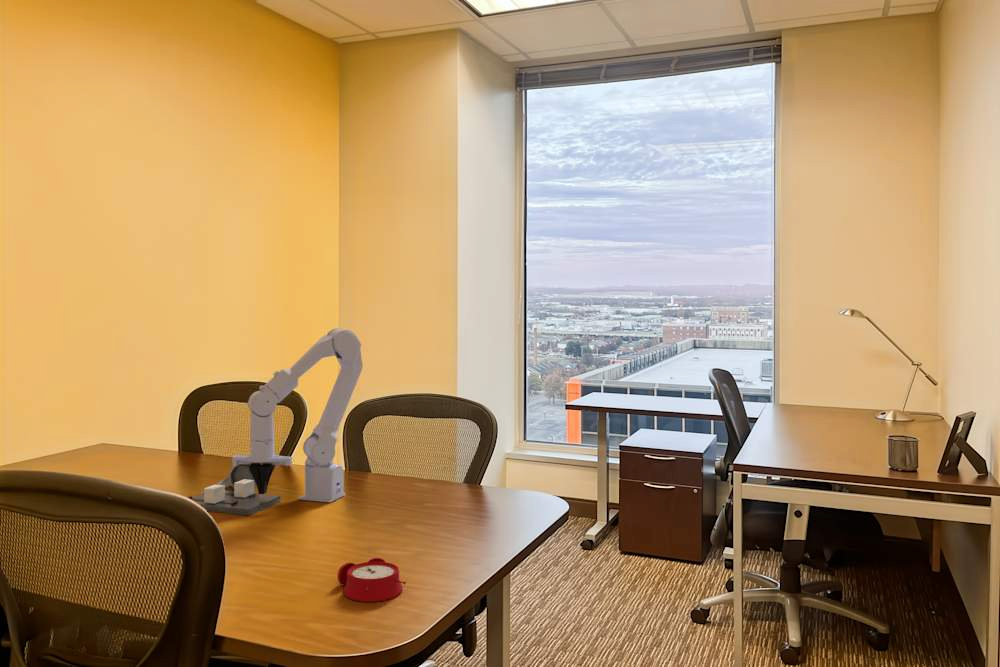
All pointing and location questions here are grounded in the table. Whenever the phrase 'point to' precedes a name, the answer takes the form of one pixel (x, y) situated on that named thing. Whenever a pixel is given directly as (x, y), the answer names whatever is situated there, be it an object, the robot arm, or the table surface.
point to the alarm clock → (370, 580)
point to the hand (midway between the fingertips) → (262, 493)
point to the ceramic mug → (237, 475)
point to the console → (238, 503)
